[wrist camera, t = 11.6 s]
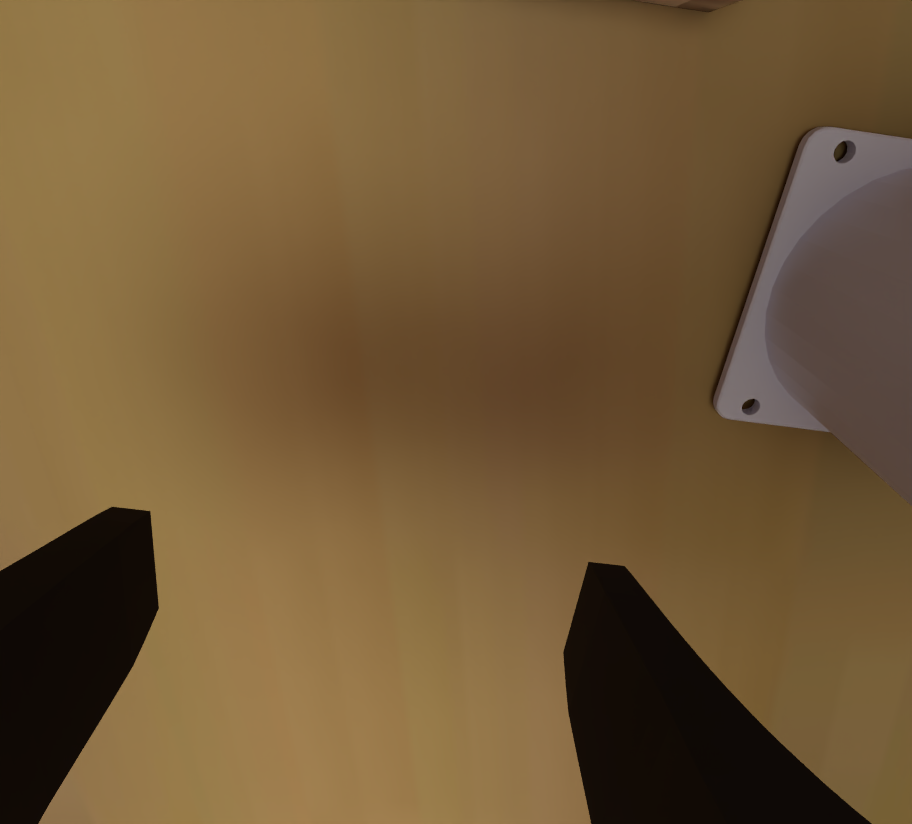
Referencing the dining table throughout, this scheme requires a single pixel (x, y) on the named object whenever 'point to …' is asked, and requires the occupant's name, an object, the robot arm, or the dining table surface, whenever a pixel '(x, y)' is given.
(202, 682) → the dining table surface
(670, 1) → the big crate
